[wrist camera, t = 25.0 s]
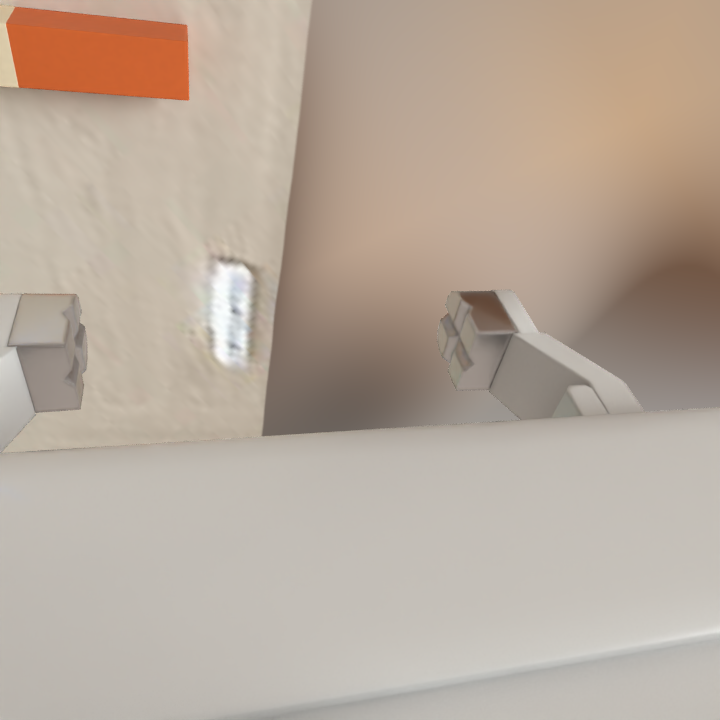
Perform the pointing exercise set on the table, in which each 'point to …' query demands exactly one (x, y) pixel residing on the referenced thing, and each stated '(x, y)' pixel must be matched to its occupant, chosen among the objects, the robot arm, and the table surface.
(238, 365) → the table surface
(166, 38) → the orange and cream bar
